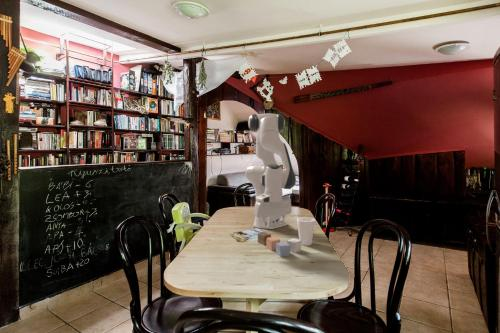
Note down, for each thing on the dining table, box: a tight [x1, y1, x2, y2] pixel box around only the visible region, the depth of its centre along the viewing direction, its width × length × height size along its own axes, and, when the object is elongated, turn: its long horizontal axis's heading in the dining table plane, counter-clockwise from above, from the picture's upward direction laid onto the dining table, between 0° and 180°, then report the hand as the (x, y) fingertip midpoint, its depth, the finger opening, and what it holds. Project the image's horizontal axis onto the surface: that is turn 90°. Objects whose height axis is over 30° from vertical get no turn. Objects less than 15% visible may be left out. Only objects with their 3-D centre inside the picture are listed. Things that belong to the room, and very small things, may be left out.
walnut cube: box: [257, 231, 272, 246], centre depth 156 cm, size 5×5×5 cm
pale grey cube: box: [286, 237, 302, 254], centre depth 145 cm, size 5×5×5 cm
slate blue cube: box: [275, 241, 291, 258], centre depth 140 cm, size 5×5×5 cm
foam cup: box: [296, 216, 316, 246], centre depth 154 cm, size 10×9×13 cm
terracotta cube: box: [265, 236, 281, 251], centre depth 148 cm, size 5×5×5 cm
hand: (273, 224), depth 146 cm, fingers open, 8 cm apart
